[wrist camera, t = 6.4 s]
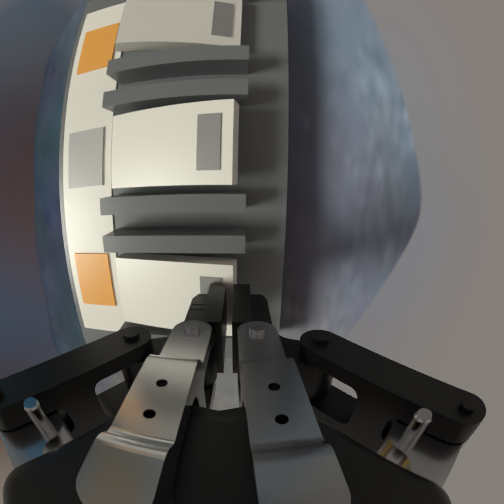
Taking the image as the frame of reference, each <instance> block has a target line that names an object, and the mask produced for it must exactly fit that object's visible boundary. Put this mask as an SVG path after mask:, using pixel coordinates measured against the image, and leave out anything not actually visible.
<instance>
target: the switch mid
mask: <svg viewBox="0 0 504 504" xmlns="http://www.w3.org/2000/svg"><path fill="white" fill-rule="evenodd" d="M238 132H239V104H238V103H237V102H236V101H235V99H224V100H211V101H201V102H191V103H183V104H176V105H169V106H162V107H156V108H151V109H145V110H140V111H135V112H130V113H126V114H121V115H117V116H113V129H112V156H111V183H112V188H127V187H145V186H171V185H236V184H238Z"/></svg>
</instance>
